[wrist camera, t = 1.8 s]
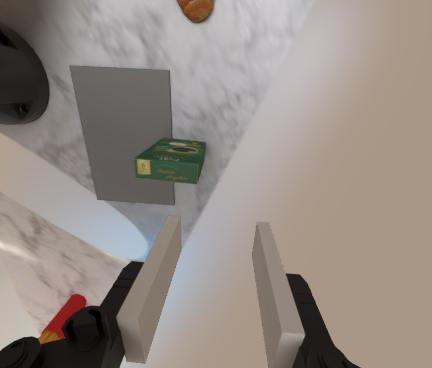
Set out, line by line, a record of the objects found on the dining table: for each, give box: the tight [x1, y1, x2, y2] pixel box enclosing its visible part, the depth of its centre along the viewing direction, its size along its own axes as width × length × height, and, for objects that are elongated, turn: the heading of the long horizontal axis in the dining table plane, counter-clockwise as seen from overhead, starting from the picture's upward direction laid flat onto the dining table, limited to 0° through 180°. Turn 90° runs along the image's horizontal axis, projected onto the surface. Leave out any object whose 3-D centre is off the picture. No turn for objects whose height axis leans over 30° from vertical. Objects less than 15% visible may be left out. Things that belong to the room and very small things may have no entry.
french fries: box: [38, 294, 86, 344], centre depth 49 cm, size 9×4×13 cm, turn 152°
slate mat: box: [69, 66, 175, 205], centre depth 36 cm, size 16×24×1 cm, turn 177°
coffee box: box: [133, 138, 205, 184], centre depth 30 cm, size 8×3×13 cm, turn 84°
